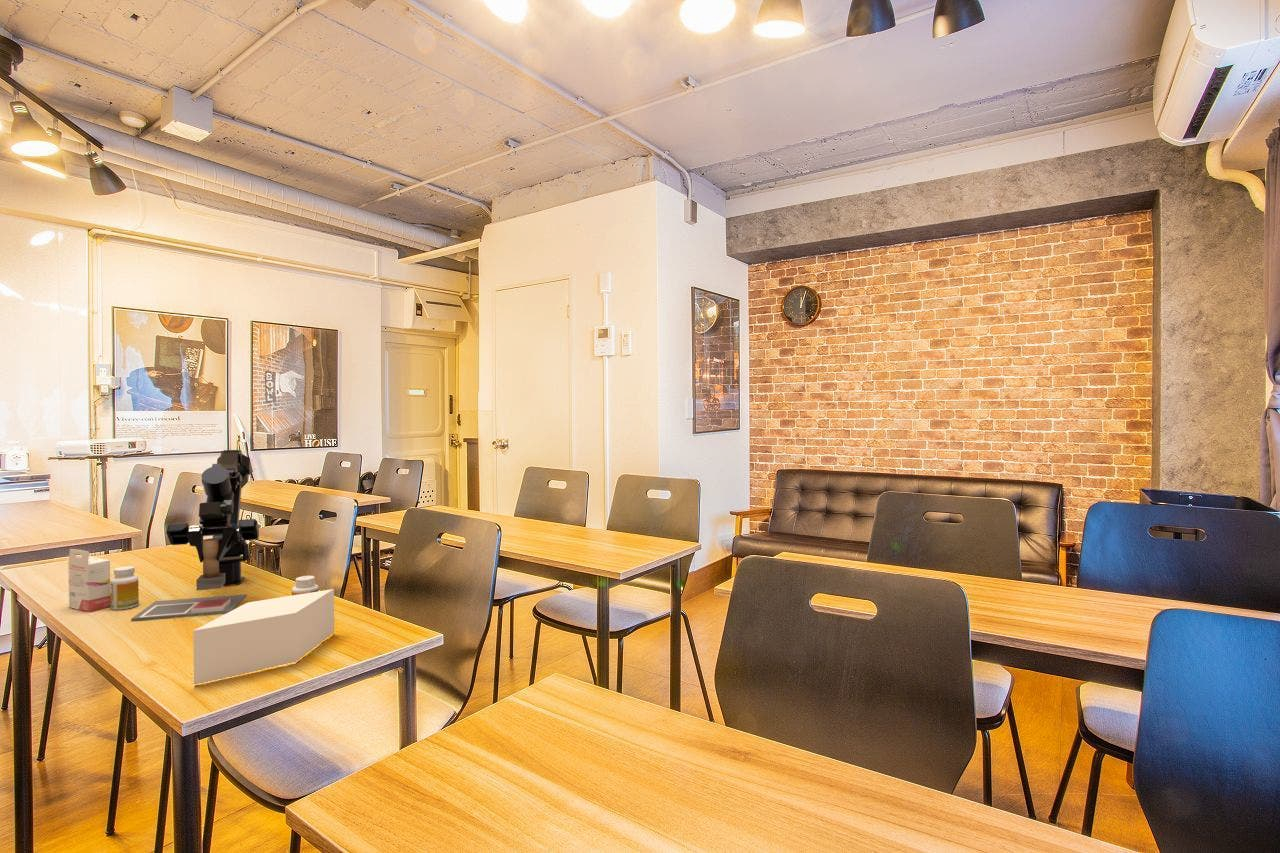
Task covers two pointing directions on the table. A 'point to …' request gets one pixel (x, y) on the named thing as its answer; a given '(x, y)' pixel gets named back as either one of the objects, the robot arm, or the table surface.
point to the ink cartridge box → (88, 582)
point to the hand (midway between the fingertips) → (209, 560)
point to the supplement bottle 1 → (124, 588)
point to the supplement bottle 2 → (305, 585)
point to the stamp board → (189, 607)
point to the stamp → (210, 567)
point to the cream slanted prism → (262, 635)
